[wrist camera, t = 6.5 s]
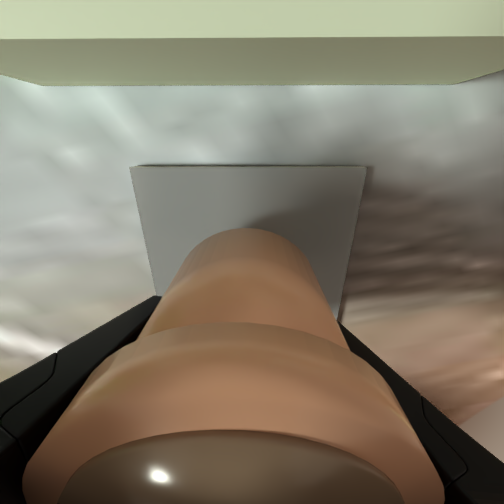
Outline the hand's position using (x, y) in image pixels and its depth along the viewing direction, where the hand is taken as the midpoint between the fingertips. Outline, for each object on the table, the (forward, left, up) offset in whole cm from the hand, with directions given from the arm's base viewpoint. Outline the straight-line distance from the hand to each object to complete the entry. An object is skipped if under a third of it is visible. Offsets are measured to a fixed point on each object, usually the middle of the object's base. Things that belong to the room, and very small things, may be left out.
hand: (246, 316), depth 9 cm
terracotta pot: (0, 0, -2) cm, 2 cm away
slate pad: (0, 0, -4) cm, 4 cm away
